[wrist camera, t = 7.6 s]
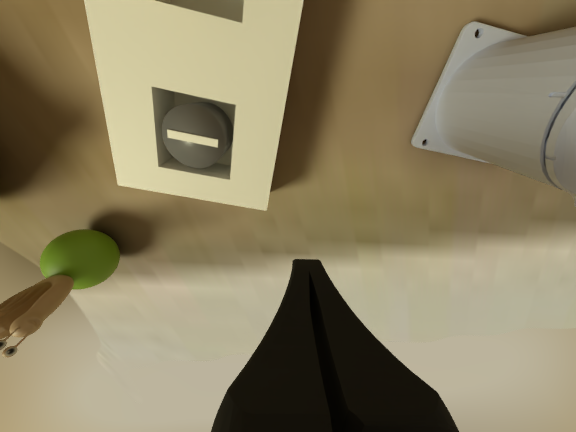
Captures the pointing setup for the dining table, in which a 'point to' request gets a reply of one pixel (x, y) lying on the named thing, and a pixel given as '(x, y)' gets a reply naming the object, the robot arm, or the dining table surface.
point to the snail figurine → (58, 281)
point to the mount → (195, 88)
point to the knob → (197, 133)
